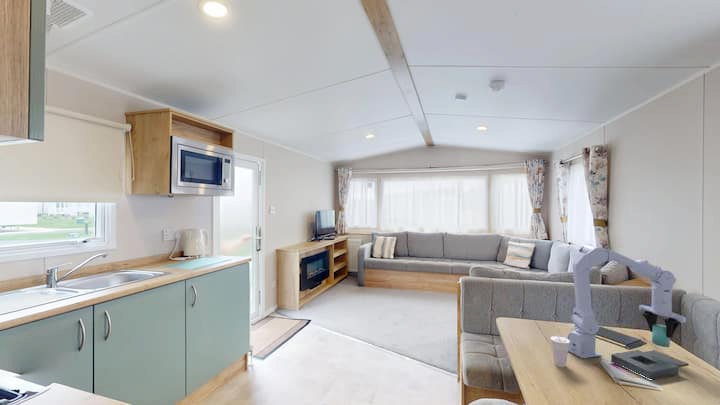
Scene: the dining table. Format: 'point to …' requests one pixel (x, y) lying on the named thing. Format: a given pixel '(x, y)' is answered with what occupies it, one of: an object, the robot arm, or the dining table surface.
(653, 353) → the mat
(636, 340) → the grey book
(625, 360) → the housing
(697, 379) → the dining table surface
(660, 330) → the end cap
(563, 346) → the smoothie
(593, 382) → the dining table surface
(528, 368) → the dining table surface
